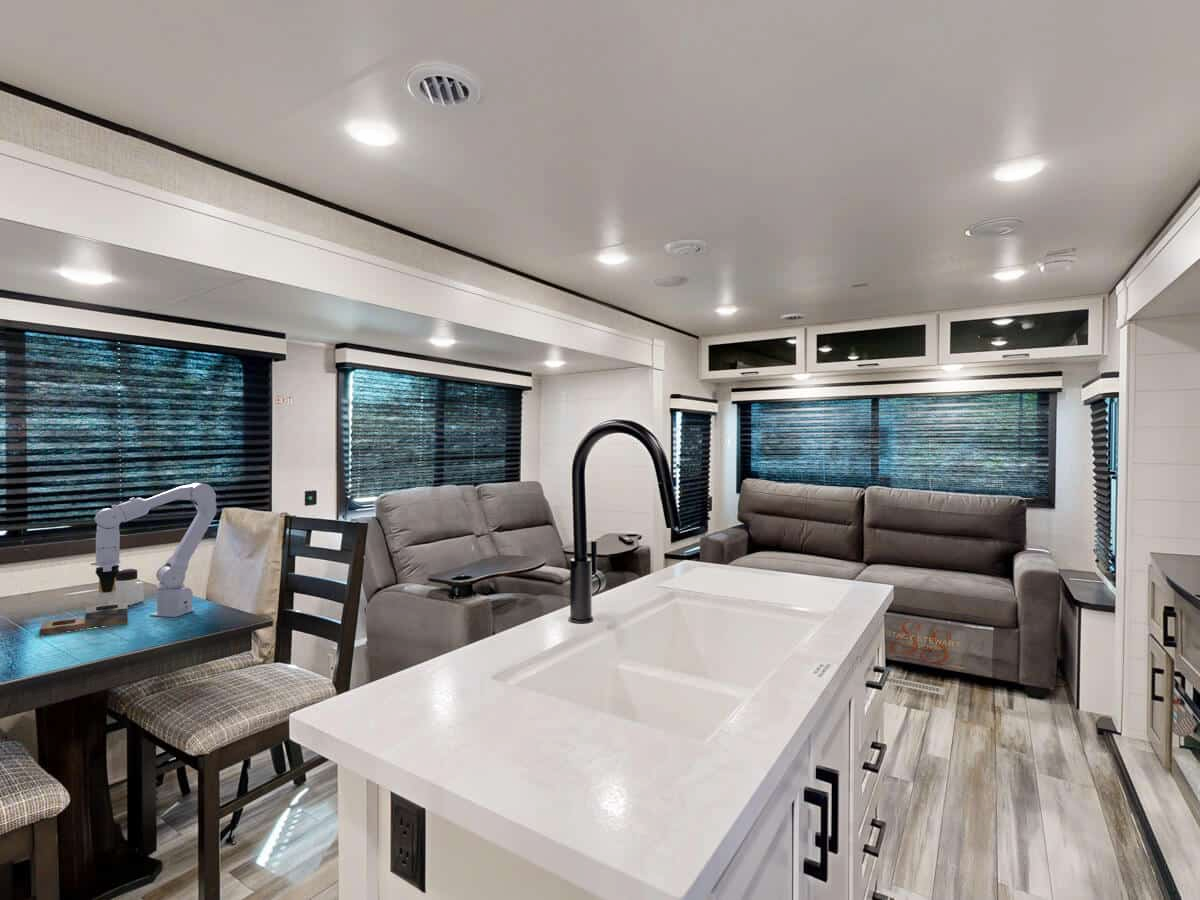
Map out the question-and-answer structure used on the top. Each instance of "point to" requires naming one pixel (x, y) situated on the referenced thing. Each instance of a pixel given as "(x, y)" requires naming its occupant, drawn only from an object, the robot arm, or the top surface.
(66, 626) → the wooden base
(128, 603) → the medicine bottle
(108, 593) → the plug
